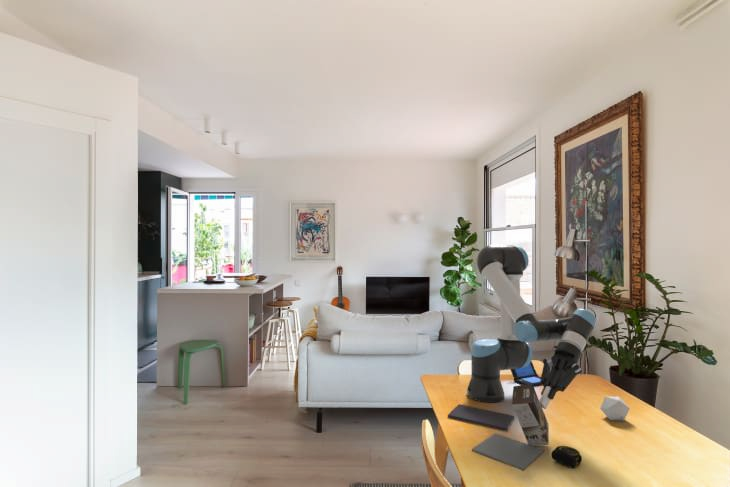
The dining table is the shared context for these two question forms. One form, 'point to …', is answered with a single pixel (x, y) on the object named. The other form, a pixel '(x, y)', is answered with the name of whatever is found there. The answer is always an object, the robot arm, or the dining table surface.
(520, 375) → the handheld game console
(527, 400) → the coffee box
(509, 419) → the notebook
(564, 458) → the tape measure
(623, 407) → the die
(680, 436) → the dining table surface
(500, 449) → the mat
